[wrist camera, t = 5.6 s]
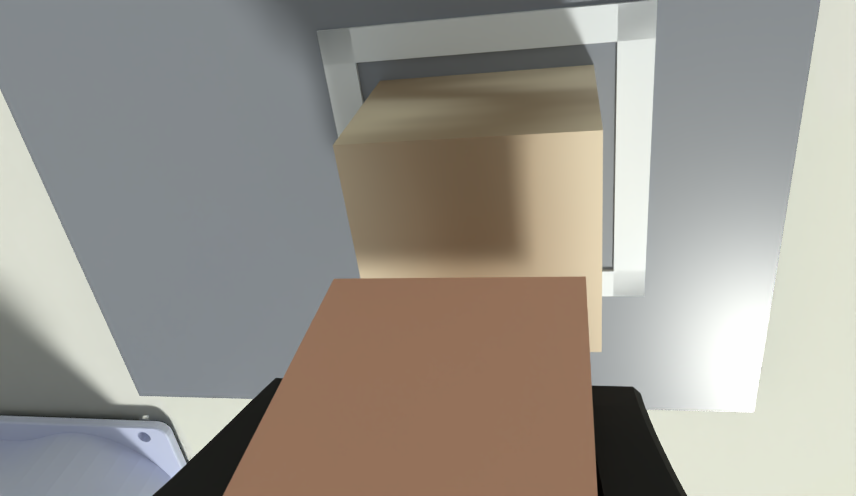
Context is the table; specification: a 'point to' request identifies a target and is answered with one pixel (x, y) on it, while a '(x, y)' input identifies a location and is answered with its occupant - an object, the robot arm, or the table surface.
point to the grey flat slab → (320, 184)
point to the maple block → (479, 178)
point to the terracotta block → (433, 393)
